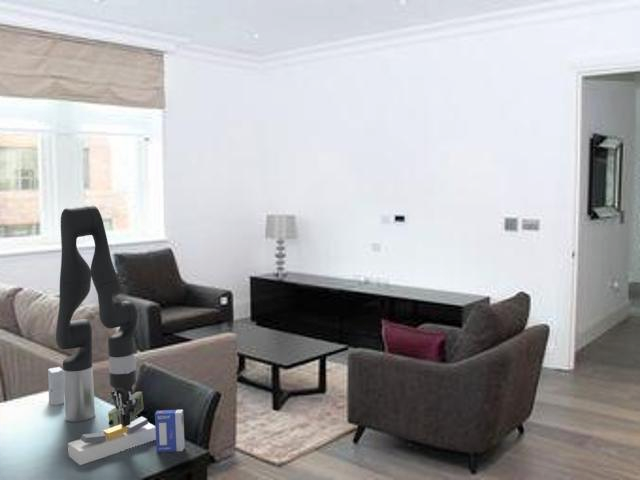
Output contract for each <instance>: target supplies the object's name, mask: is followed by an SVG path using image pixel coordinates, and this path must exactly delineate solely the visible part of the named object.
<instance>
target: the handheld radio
mask: <svg viewBox="0 0 640 480" xmlns="http://www.w3.org/2000/svg"><path fill="white" fill-rule="evenodd" d="M133 397H134V399H135V398H137V399H138V402H137V405H136V407H135V410H134V412H131V413H130V421H131V420H132V419H134V418H135V417H136V416H138V415H139V414H140V413H141V412H142V411H144V400H143V399H144V398H143V397H144V396H143V391H136V392H133ZM107 413H108V414H107V415H108V428H111V427H114V426H117V425H120V424H121V413H120V412H119V409H118V410H117V409H116V406H115V407H114V408H112V409H111V410H109V411H108V412H107Z"/></svg>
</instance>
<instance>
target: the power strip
mask: <svg viewBox="0 0 640 480" xmlns="http://www.w3.org/2000/svg"><path fill="white" fill-rule="evenodd" d="M101 433H103V431H102V432H101ZM153 440H154V441H156V429H155V425H154V424H152V423H150V422H148V424H147V425H145V426H143V427H141V428H139V429H138V430H136V431H134V432H132V433H129V432H126V433H123V434H120V435H117V436H114V437H112V438H109V439H108V438H107V437H106V441H103V442H94V443H84V442H83V441H82V440H81V438H80V439H76V440H73V441H70V442H67V448H68V449H67V450H68V457H69V458H70V459H72V460H73V461H74V462H75V463H77V465H80V466H82V465H84V464H85V465H86V464H88V463H91V462H94V461H97V460H100V459H103V458H106V457H109V456H113V455H116V454H118V453H120V451H121V452H123V451H126V449H127V450H129V448H130V449H133V448H135V446H136V447H139V446H141V444H142V445H144V443H145V444H148V443H151V442H153ZM150 441H151V442H150ZM147 442H148V443H147ZM138 445H139V446H138ZM132 447H133V448H132Z"/></svg>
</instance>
